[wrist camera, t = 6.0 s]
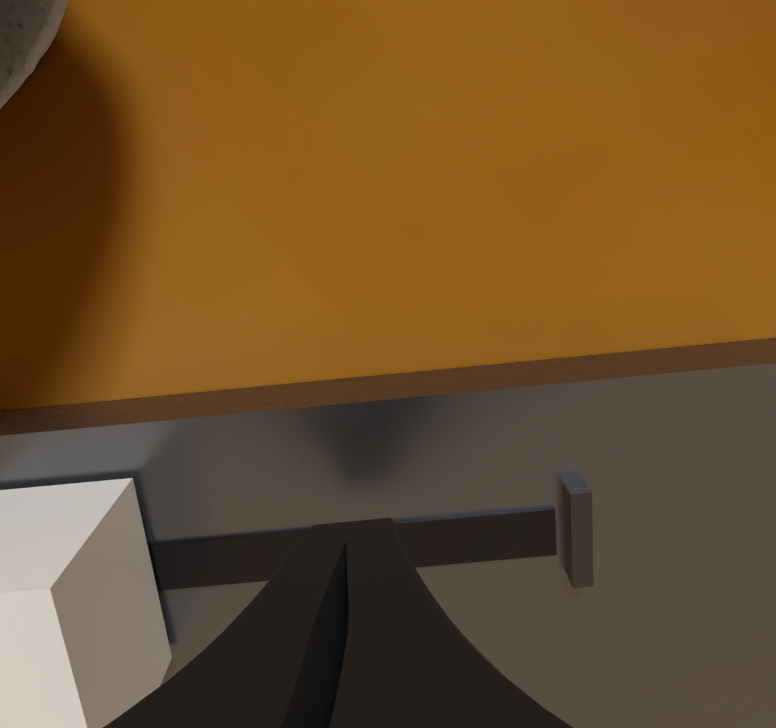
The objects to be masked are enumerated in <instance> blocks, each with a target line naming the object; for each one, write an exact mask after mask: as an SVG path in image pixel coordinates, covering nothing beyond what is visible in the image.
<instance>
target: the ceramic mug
mask: <svg viewBox="0 0 776 728" xmlns="http://www.w3.org/2000/svg"><path fill="white" fill-rule="evenodd" d="M69 1H70V0H0V109H1V108H2V107H3V106H4V104H5V103H6V102H7V101H8V100H9V99H10V98H11V97H12V95H13V94H14V93H15V92H16V91H17V90H18V89H19V88H20V87H21V85H22V84H23V82H24V81H25V80H26V78H27V77H28V76H29V75H30V74H31V73H32V72H33V71H34V69H35V67H36V65H37V63H38V62H39V60H40V58H41V57H42V56H43V55H44V54H45V53H46V51H47V50H48V48H49V46H50V45H51V43H52V41H53V40H54V38H55V36H56V35H57V33H58V30H59V27H60V24H61V21H62V18H63V15H64V12H65V10H66V8H67V5H68V3H69Z"/></svg>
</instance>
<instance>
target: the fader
mask: <svg viewBox="0 0 776 728" xmlns="http://www.w3.org/2000/svg"><path fill="white" fill-rule="evenodd" d="M171 659H172V655H171V651H170V646H169V642H168V637H167V632H166V628H165V623H164V619H163V614H162V610H161V605H160V600H159V596H158V591H157V587H156V582H155V578H154V573H153V568H152V564H151V559H150V555H149V550H148V545H147V541H146V536H145V532H144V527H143V523H142V518H141V513H140V509H139V504H138V500H137V495H136V491H135V486H134V481H133V478H127V479H116V480H105V481H95V482H84V483H73V484H62V485H51V486H40V487H30V488H19V489H8V490H0V728H103V727H104V726H106V725H107V724H109V723H110V722H112V721H113V720H115V719H116V718H117V717H119V716H120V715H122V714H123V713H124V712H126V711H127V710H128V709H130V708H131V707H132V706H134V705H135V704H137V703H138V702H139V701H141V700H142V699H143V698H145V697H146V696H147V695H149V694H150V693H152V692H153V691H154V690H156V689H157V688H158V687H160V685H161V683H162V681H163V678H164V676H165V673H166V671H167V668H168V666H169V663H170V661H171Z"/></svg>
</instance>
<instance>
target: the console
mask: <svg viewBox="0 0 776 728" xmlns="http://www.w3.org/2000/svg"><path fill="white" fill-rule="evenodd" d="M127 478H133V481H134V486H135V491H136V495H137V500H138V504H139V509H140V513H141V518H142V523H143V527H144V532H145V536H146V541H147V545H148V550H149V555H150V559H151V564H152V568H153V573H154V578H155V582H156V587H157V591H158V596H159V600H160V605H161V610H162V614H163V619H164V623H165V628H166V632H167V637H168V642H169V646H170V651H171V655H172V659H171V661H170V663H169V666H168V668H167V671H166V673H165V676H164V678H163V681H162V683H161V685H162V684H164V683H165V682H166V681H168V680H169V679H170V678H171V677H173V676H174V675H175V674H176V673H178V672H179V671H180V670H181V669H182V668H183V667H185V666H186V665H187V664H188V663H189V662H190V661H191V660H193V659H194V658H195V657H196V656H197V655H198V654H200V653H201V652H202V651H203V650H204V649H205V648H206V647H207V646H208V645H210V644H211V643H212V642H213V641H214V640H215V639H216V638H217V637H218V636H219V635H220V634H221V633H222V632H223V631H224V630H225V629H226V628H227V627H228V626H229V625H230V624H231V623H232V622H233V621H234V620H235V618H236V617H237V616H238V615H239V614H240V613H241V612H242V611H243V610H244V609H245V608H246V607H247V606H248V605H249V604H250V602H251V601H252V600H253V599H254V598H255V597H256V595H257V594H258V593H259V592H260V591H261V589H262V588H263V587H264V586H265V585H266V583H267V582H268V581H269V580H270V579H271V577H272V576H273V575H274V574H275V573H276V571H277V570H278V569H279V568H280V566H281V565H282V564H283V563H284V561H285V560H286V559H287V557H288V556H289V555H290V554H291V552H292V551H293V550H294V548H295V547H296V546H297V544H298V543H299V542H300V540H301V539H302V538H303V537H304V535H305V534H306V533H307V532H308V531H309V529H310V528H311V527H312V526H313V525H317V524H328V523H339V522H349V521H360V520H371V519H382V518H391V519H392V520H394V521H395V522H396V523H397V524H398V529H399V534H400V537H401V540H402V543H403V545H404V547H405V549H406V551H407V554H408V556H409V558H410V560H411V561H412V563H413V565H414V567H415V569H416V570H417V572H418V573H419V575H420V577H421V578H422V580H423V581H424V583H425V585H426V586H427V588H428V590H429V591H430V592H431V594H432V595H433V597H434V598H435V600H436V601H437V602H438V604H439V605H440V606H441V608H442V609H443V610H444V612H445V613H446V614H447V615H448V617H449V618H450V619H451V621H452V622H453V623H454V624H455V625H456V627H457V628H458V629H459V630H460V631H461V633H462V634H463V635H464V636H465V637H466V638H467V639H468V640H469V641H470V642H471V644H472V645H473V646H474V647H475V648H476V649H477V650H478V651H479V652H480V653H481V654H482V655H483V656H484V657H485V658H486V659H487V660H488V661H489V662H490V663H491V664H492V665H493V666H494V667H496V668H497V669H498V670H499V671H500V672H501V673H502V674H503V675H504V676H505V677H506V678H507V679H509V680H510V681H511V682H512V683H514V684H515V685H516V686H517V687H519V688H520V689H521V690H522V691H524V692H525V693H526V694H527V695H529V696H530V697H531V698H532V699H534V700H535V701H536V702H537V703H539V704H540V705H541V706H542V707H544V708H545V709H546V710H548V711H549V712H551V713H552V714H554V715H555V716H557V717H558V718H560V719H561V720H563V721H564V722H566V723H567V724H569V725H570V726H572V727H573V728H776V338H771V339H760V340H749V341H739V342H728V343H718V344H707V345H696V346H686V347H675V348H665V349H654V350H643V351H633V352H622V353H612V354H601V355H590V356H580V357H569V358H559V359H548V360H537V361H527V362H516V363H506V364H495V365H484V366H474V367H463V368H453V369H442V370H432V371H421V372H410V373H400V374H389V375H379V376H368V377H357V378H347V379H336V380H326V381H315V382H304V383H294V384H283V385H273V386H262V387H251V388H241V389H230V390H220V391H209V392H198V393H188V394H177V395H167V396H156V397H146V398H135V399H124V400H114V401H103V402H93V403H82V404H71V405H61V406H50V407H40V408H29V409H18V410H8V411H0V490H8V489H19V488H30V487H40V486H51V485H62V484H73V483H84V482H95V481H105V480H116V479H127ZM161 685H160V686H161Z"/></svg>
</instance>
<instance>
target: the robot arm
mask: <svg viewBox="0 0 776 728" xmlns="http://www.w3.org/2000/svg"><path fill="white" fill-rule="evenodd" d="M103 728H573V727H572V726H570V725H569V724H567V723H566V722H564V721H563V720H561V719H560V718H558V717H557V716H555V715H554V714H552V713H551V712H549V711H548V710H546V709H545V708H544V707H542V706H541V705H540V704H539V703H537V702H536V701H535V700H534V699H532V698H531V697H530V696H529V695H527V694H526V693H525V692H524V691H522V690H521V689H520V688H519V687H517V686H516V685H515V684H514V683H512V682H511V681H510V680H509V679H507V678H506V677H505V676H504V675H503V674H502V673H501V672H500V671H499V670H498V669H497V668H496V667H494V666H493V665H492V664H491V663H490V662H489V661H488V660H487V659H486V658H485V657H484V656H483V655H482V654H481V653H480V652H479V651H478V650H477V649H476V648H475V647H474V646H473V645H472V644H471V642H470V641H469V640H468V639H467V638H466V637H465V636H464V635H463V634H462V633H461V631H460V630H459V629H458V628H457V627H456V625H455V624H454V623H453V622H452V621H451V619H450V618H449V617H448V615H447V614H446V613H445V612H444V610H443V609H442V608H441V606H440V605H439V604H438V602H437V601H436V600H435V598H434V597H433V595H432V594H431V592H430V591H429V590H428V588H427V586H426V585H425V583H424V581H423V580H422V578H421V577H420V575H419V573H418V572H417V570H416V569H415V567H414V565H413V563H412V561H411V560H410V558H409V556H408V554H407V551H406V549H405V547H404V545H403V543H402V540H401V537H400V534H399V529H398V524H397V523H396V522H395V521H394V520H392V519H391V518H382V519H371V520H360V521H349V522H339V523H328V524H317V525H313V526H312V527H311V528H310V529H309V531H308V532H307V533H306V534H305V535H304V537H303V538H302V539H301V540H300V542H299V543H298V544H297V546H296V547H295V548H294V550H293V551H292V552H291V554H290V555H289V556H288V557H287V559H286V560H285V561H284V563H283V564H282V565H281V566H280V568H279V569H278V570H277V571H276V573H275V574H274V575H273V576H272V577H271V579H270V580H269V581H268V582H267V583H266V585H265V586H264V587H263V588H262V589H261V591H260V592H259V593H258V594H257V595H256V597H255V598H254V599H253V600H252V601H251V602H250V604H249V605H248V606H247V607H246V608H245V609H244V610H243V611H242V612H241V613H240V614H239V615H238V616H237V617H236V618H235V620H234V621H233V622H232V623H231V624H230V625H229V626H228V627H227V628H226V629H225V630H224V631H223V632H222V633H221V634H220V635H219V636H218V637H217V638H216V639H215V640H214V641H213V642H212V643H211V644H210V645H208V646H207V647H206V648H205V649H204V650H203V651H202V652H201V653H200V654H198V655H197V656H196V657H195V658H194V659H193V660H191V661H190V662H189V663H188V664H187V665H186V666H185V667H183V668H182V669H181V670H180V671H179V672H178V673H176V674H175V675H174V676H173V677H171V678H170V679H169V680H168V681H166V682H165V683H164V684H162V685H161V686H160V687H158V688H157V689H156V690H154V691H153V692H152V693H150V694H149V695H147V696H146V697H145V698H143V699H142V700H141V701H139V702H138V703H137V704H135V705H134V706H132V707H131V708H130V709H128V710H127V711H126V712H124V713H123V714H122V715H120V716H119V717H117V718H116V719H115V720H113V721H112V722H110V723H109V724H107V725H106V726H104V727H103Z"/></svg>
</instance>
